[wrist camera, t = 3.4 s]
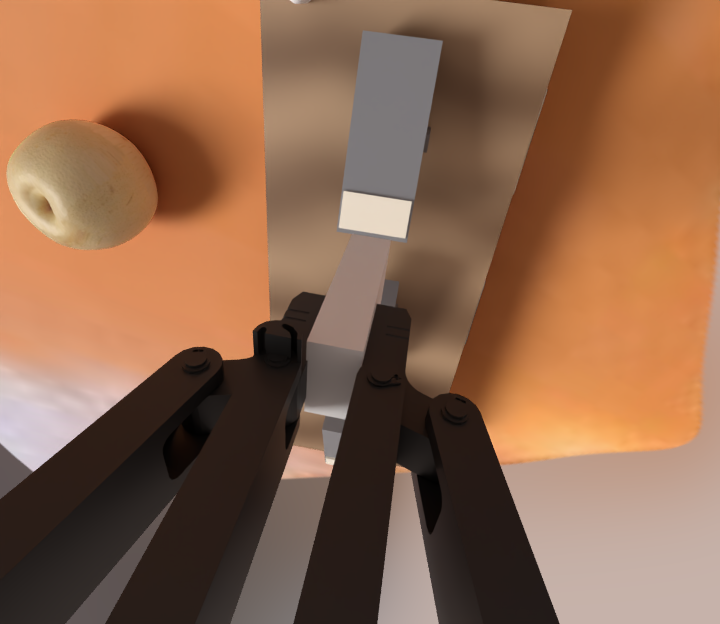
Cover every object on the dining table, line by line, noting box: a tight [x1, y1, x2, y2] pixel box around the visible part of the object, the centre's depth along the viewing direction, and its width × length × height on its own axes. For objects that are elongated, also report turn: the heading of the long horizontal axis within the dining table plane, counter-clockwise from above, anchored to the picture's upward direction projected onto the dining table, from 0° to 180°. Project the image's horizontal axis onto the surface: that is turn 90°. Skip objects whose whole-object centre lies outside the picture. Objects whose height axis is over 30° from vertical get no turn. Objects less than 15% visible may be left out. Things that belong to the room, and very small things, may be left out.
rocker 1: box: [322, 416, 345, 465], centre depth 31 cm, size 8×3×2 cm, turn 173°
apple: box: [7, 120, 158, 250], centre depth 28 cm, size 8×8×8 cm
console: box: [260, 0, 572, 467], centre depth 29 cm, size 32×13×6 cm, turn 174°
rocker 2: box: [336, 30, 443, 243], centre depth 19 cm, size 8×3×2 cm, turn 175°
